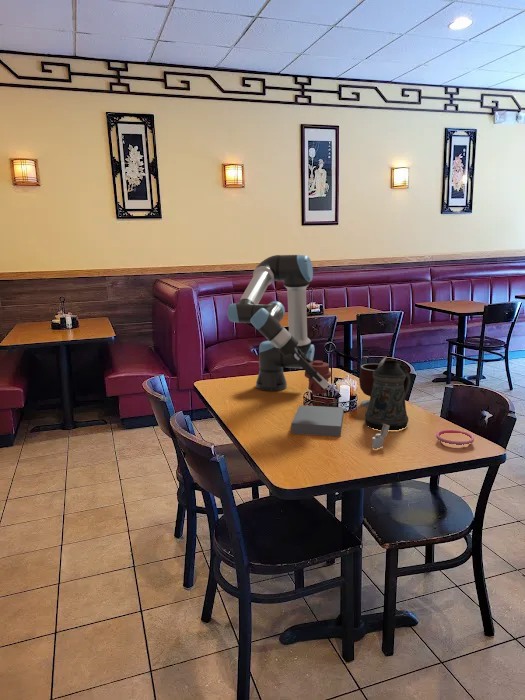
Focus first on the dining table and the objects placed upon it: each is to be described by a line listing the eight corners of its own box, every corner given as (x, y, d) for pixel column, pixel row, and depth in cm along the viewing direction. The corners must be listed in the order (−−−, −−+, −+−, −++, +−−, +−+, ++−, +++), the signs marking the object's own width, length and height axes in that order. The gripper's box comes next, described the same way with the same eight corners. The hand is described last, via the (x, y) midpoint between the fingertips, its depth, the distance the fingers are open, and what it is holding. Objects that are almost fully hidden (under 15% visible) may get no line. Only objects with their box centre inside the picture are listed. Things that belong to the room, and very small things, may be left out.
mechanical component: (304, 388, 203) (330, 389, 201) (304, 396, 193) (330, 397, 192) (305, 358, 200) (331, 358, 199) (304, 364, 190) (331, 364, 189)
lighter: (375, 451, 174) (376, 428, 173) (371, 449, 176) (372, 427, 174) (388, 446, 179) (389, 424, 177) (385, 444, 180) (385, 422, 178)
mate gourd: (381, 412, 214) (383, 365, 210) (352, 405, 223) (353, 361, 219) (398, 403, 226) (400, 359, 222) (370, 397, 234) (371, 354, 230)
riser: (299, 414, 212) (299, 405, 211) (343, 417, 209) (343, 407, 208) (291, 433, 191) (291, 423, 190) (340, 436, 188) (340, 426, 187)
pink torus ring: (428, 440, 184) (428, 432, 183) (455, 435, 189) (455, 427, 188) (453, 453, 173) (454, 444, 172) (481, 447, 177) (482, 438, 177)
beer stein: (359, 428, 195) (361, 364, 190) (371, 413, 213) (374, 354, 208) (403, 435, 188) (407, 369, 183) (412, 419, 206) (416, 358, 201)
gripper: (277, 343, 205) (316, 381, 208) (277, 355, 183) (320, 398, 186) (291, 330, 204) (330, 369, 207) (292, 340, 182) (336, 383, 185)
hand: (325, 382), depth 196 cm, fingers closed on mechanical component, 10 cm apart
